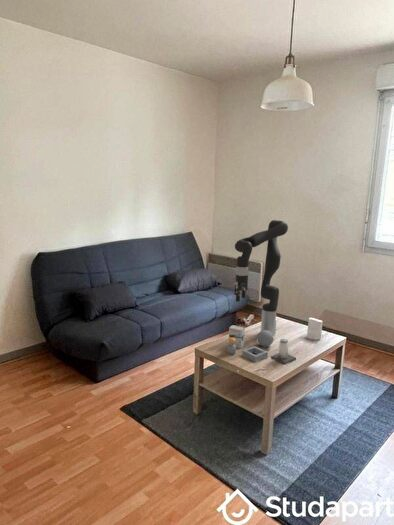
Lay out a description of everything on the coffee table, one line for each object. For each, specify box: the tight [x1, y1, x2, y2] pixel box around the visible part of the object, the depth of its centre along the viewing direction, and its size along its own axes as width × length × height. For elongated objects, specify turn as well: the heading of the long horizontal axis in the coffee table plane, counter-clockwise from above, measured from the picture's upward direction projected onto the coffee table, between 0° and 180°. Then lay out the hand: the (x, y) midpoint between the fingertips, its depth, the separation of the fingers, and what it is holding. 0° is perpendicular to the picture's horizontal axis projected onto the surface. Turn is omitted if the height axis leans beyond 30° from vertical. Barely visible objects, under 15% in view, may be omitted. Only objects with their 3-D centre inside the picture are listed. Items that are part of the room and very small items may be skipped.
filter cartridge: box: [278, 338, 290, 359], centre depth 221 cm, size 5×5×10 cm
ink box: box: [227, 324, 246, 349], centre depth 237 cm, size 8×5×12 cm, turn 62°
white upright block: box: [306, 317, 323, 340], centre depth 255 cm, size 9×9×12 cm
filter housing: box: [226, 344, 269, 363], centre depth 225 cm, size 16×19×5 cm
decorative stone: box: [256, 330, 274, 348], centre depth 238 cm, size 10×10×10 cm
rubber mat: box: [270, 352, 297, 365], centre depth 222 cm, size 10×10×1 cm
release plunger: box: [228, 337, 236, 344], centre depth 226 cm, size 4×4×2 cm
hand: (240, 299), depth 237 cm, fingers open, 8 cm apart
